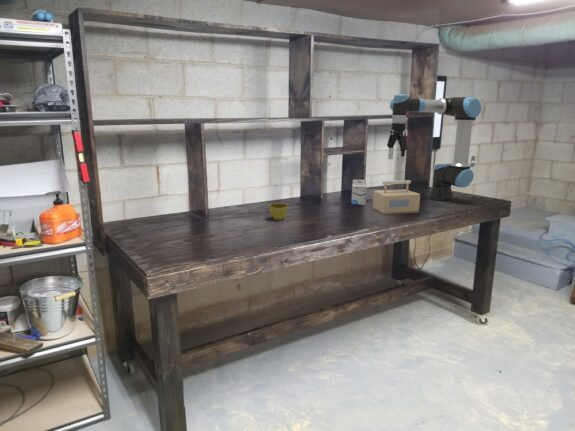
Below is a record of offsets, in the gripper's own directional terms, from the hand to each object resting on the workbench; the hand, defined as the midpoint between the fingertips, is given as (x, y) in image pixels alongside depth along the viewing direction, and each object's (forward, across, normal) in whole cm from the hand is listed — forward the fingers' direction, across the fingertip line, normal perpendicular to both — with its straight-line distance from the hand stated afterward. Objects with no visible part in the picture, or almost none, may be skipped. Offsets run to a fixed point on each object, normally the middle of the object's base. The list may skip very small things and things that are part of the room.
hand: (395, 160), depth 252 cm
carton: (+29, +2, +1) cm, 29 cm away
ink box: (+29, -18, -14) cm, 37 cm away
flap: (+19, -1, +1) cm, 19 cm away
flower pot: (+29, +8, -70) cm, 76 cm away
